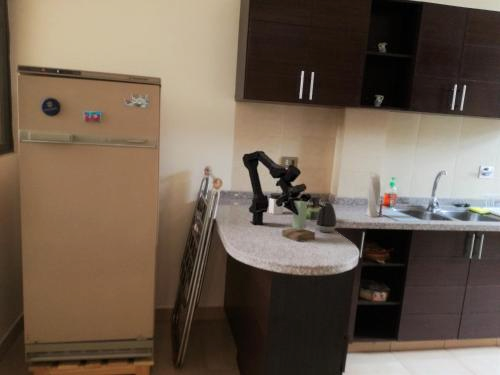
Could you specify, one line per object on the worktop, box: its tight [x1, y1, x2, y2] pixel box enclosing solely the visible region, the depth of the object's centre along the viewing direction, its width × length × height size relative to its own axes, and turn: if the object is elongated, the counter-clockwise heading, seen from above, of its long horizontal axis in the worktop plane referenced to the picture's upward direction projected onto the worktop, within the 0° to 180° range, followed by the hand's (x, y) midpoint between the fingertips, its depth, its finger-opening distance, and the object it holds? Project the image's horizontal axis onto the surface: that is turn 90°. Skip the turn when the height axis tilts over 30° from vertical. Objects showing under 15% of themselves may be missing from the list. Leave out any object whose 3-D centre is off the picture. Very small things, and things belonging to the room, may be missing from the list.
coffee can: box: [306, 194, 322, 222], centre depth 226 cm, size 10×10×14 cm
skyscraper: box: [365, 172, 383, 219], centre depth 242 cm, size 8×8×28 cm
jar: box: [268, 192, 285, 215], centre depth 241 cm, size 9×8×12 cm
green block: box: [291, 201, 307, 229], centre depth 184 cm, size 4×4×12 cm
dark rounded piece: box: [315, 201, 337, 233], centre depth 198 cm, size 10×10×15 cm
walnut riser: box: [281, 227, 316, 242], centre depth 185 cm, size 11×11×4 cm
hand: (301, 214), depth 182 cm, fingers closed on green block, 4 cm apart
